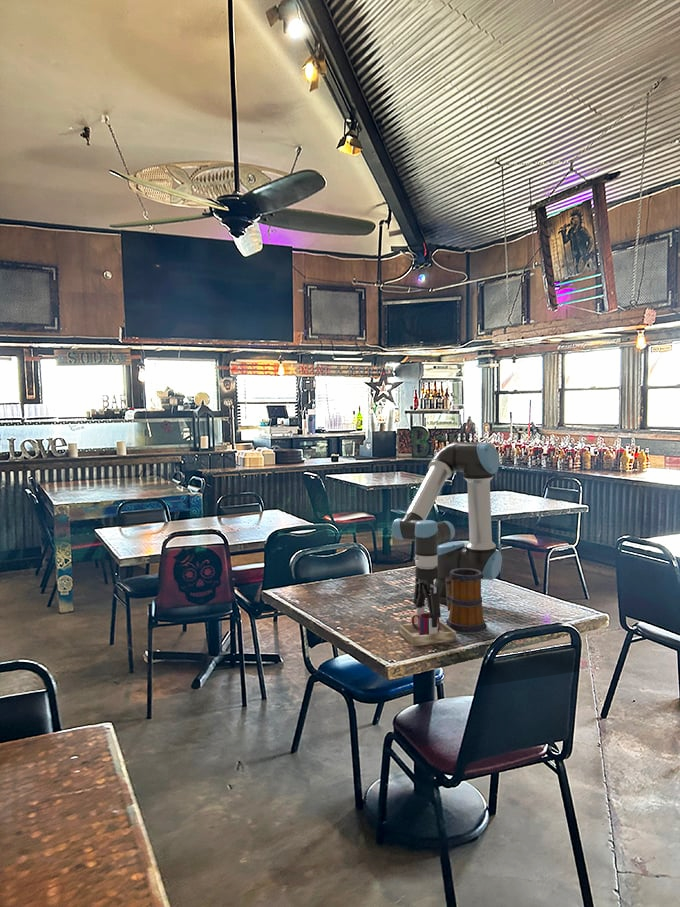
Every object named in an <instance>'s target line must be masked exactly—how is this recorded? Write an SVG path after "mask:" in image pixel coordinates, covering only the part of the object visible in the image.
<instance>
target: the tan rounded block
mask: <svg viewBox="0 0 680 907" xmlns="http://www.w3.org/2000/svg"><path fill="white" fill-rule="evenodd" d="M414 615H417V611H416V612H415V611H414V612H411V613H410V624H412V617H413V616H414ZM414 623H417V617H416V616H415V617H414Z"/></svg>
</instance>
